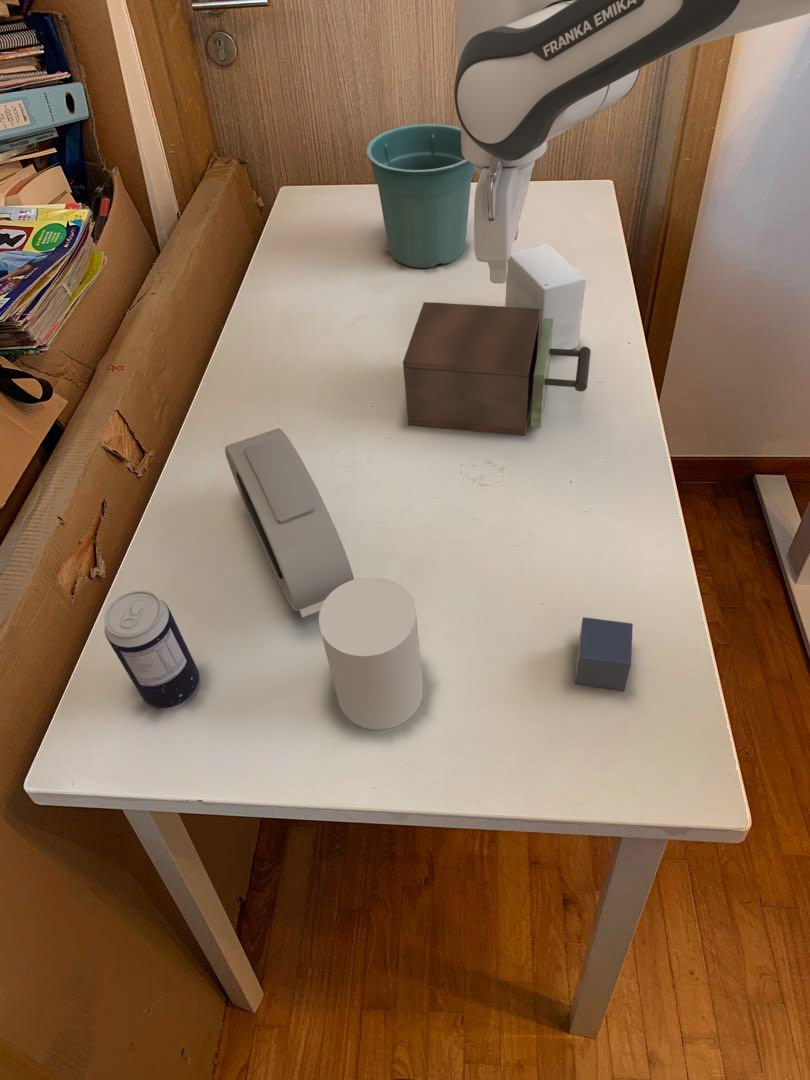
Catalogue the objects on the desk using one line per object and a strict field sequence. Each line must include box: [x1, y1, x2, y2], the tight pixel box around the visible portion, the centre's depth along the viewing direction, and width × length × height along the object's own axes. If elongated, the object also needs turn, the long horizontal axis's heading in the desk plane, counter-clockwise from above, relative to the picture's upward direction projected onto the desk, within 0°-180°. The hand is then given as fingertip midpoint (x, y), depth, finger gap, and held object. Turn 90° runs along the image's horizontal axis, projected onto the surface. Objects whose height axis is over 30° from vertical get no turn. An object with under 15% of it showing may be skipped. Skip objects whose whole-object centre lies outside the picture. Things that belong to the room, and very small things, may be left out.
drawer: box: [530, 318, 592, 428], centre depth 100 cm, size 18×11×8 cm, turn 78°
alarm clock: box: [224, 428, 355, 619], centre depth 84 cm, size 23×6×13 cm, turn 24°
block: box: [574, 617, 634, 692], centre depth 75 cm, size 4×4×4 cm
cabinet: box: [402, 301, 540, 436], centre depth 101 cm, size 15×13×10 cm
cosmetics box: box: [504, 242, 587, 350], centre depth 109 cm, size 10×6×10 cm, turn 22°
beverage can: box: [103, 590, 200, 709], centre depth 74 cm, size 6×6×12 cm
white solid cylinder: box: [318, 576, 425, 731], centre depth 73 cm, size 8×8×12 cm
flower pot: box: [365, 123, 475, 269], centre depth 124 cm, size 16×16×16 cm
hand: (504, 258), depth 94 cm, fingers open, 8 cm apart
